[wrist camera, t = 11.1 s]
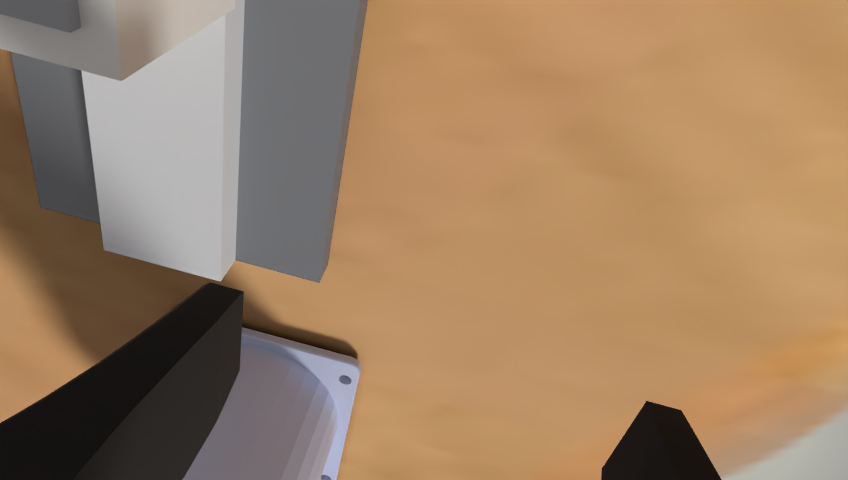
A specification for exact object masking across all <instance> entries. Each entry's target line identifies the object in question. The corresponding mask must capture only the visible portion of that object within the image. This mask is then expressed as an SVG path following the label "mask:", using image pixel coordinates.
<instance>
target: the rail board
mask: <svg viewBox="0 0 848 480" xmlns="http://www.w3.org/2000/svg"><path fill="white" fill-rule="evenodd" d="M367 1H368V0H235V9H233V10H232V11H230V12H228V13H227V14H225V15H224V16H222V17H221V18H219V19H218V20H216V21H214V22H213V23H211V24H210V25H208V26H207V27H205V28H204V29H202V30H200V31H199V32H197V33H196V34H194V35H193V36H191V37H190V38H188V39H186V40H185V41H183V42H182V43H180V44H179V45H177V46H175V47H174V48H172V49H171V50H169V51H168V52H166V53H165V54H163V55H161V56H160V57H158V58H157V59H155V60H154V61H152V62H151V63H149V64H147V65H146V66H144V67H143V68H141V69H140V70H138V71H137V72H135V73H133V74H132V75H130V76H129V77H127V78H126V79H124V80H123V81H119V80H115V79H111V78H107V77H104V76H100V75H96V74H93V73H89V72H85V71H81V70H78V69H74V68H70V67H66V66H63V65H59V64H55V63H52V62H48V61H44V60H40V59H37V58H33V57H29V56H26V55H22V54H18V53H14V52H11V56H12V62H13V67H14V72H15V77H16V82H17V88H18V93H19V98H20V103H21V108H22V114H23V119H24V124H25V129H26V134H27V140H28V145H29V150H30V155H31V160H32V165H33V171H34V176H35V181H36V186H37V191H38V197H39V202H40V207H41V208H45V209H48V210H52V211H56V212H59V213H63V214H67V215H70V216H74V217H78V218H82V219H85V220H89V221H93V222H96V223H100V224H101V231H102V239H103V247H104V250H106V251H109V252H113V253H117V254H120V255H124V256H128V257H131V258H135V259H139V260H143V261H146V262H150V263H154V264H157V265H161V266H165V267H168V268H172V269H176V270H179V271H183V272H187V273H191V274H194V275H198V276H202V277H205V278H209V279H213V280H216V281H220V282H221V280H222V279H223V277H224V276H225V274H226V273H227V272H228V270H229V269H230V267H231V266H232V264H233V263H234V261H235V260H237V261H240V262H244V263H248V264H252V265H255V266H259V267H263V268H266V269H270V270H274V271H277V272H281V273H285V274H288V275H292V276H296V277H300V278H303V279H307V280H311V281H314V282H318V283H319V282H320V280H321V278H322V276H323V274H324V272H325V270H326V267H327V265H328V259H329V252H330V245H331V239H332V232H333V225H334V219H335V212H336V206H337V199H338V192H339V186H340V179H341V173H342V166H343V159H344V153H345V146H346V139H347V133H348V126H349V120H350V113H351V106H352V100H353V93H354V87H355V80H356V73H357V67H358V60H359V53H360V47H361V40H362V34H363V27H364V20H365V14H366V7H367Z"/></svg>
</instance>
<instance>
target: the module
mask: <svg viewBox="0 0 848 480" xmlns="http://www.w3.org/2000/svg"><path fill="white" fill-rule="evenodd" d="M233 9H235V0H0V49H3V50H7V51H11V52H14V53H18V54H22V55H26V56H29V57H33V58H37V59H40V60H44V61H48V62H52V63H55V64H59V65H63V66H66V67H70V68H74V69H78V70H81V71H85V72H89V73H93V74H96V75H100V76H104V77H107V78H111V79H115V80H119V81H123V80H124V79H126V78H127V77H129V76H130V75H132V74H133V73H135V72H137V71H138V70H140V69H141V68H143V67H144V66H146V65H147V64H149V63H151V62H152V61H154V60H155V59H157V58H158V57H160V56H161V55H163V54H165V53H166V52H168V51H169V50H171V49H172V48H174V47H175V46H177V45H179V44H180V43H182V42H183V41H185V40H186V39H188V38H190V37H191V36H193V35H194V34H196V33H197V32H199V31H200V30H202V29H204V28H205V27H207V26H208V25H210V24H211V23H213V22H214V21H216V20H218V19H219V18H221V17H222V16H224V15H225V14H227V13H228V12H230V11H232V10H233Z"/></svg>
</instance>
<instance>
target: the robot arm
mask: <svg viewBox="0 0 848 480" xmlns="http://www.w3.org/2000/svg"><path fill="white" fill-rule="evenodd" d="M243 293H244V292H243V291H239V290H236V289H232V288H228V287H225V286H221V285H217V284H213V283H208V284H206V285H204V286H203V287H201V288H200V289H199V290H197V291H196V292H195V293H193V294H192V295H191V296H190V297H188V298H187V299H186V300H184V301H183V302H182V303H180V304H179V305H178V306H177V307H175V308H174V309H173V310H170V311H169V312H168V313H167V314H166V315H165V316H163V317H162V318H161V319H159V320H158V321H157V322H155V323H154V324H153V325H151V326H150V327H148V328H147V329H146V330H144V331H143V332H142V333H140V334H139V335H137V336H136V337H135V338H133V339H132V340H130V341H129V342H127V343H126V344H125V345H123V346H122V347H120V348H119V349H117V350H116V351H115V352H113V353H112V354H110V355H109V356H108V357H106V358H105V359H103V360H102V361H100V362H99V363H97V364H96V365H94V366H93V367H91V368H90V369H88V370H87V371H85V372H83V373H82V374H80V375H79V376H77V377H76V378H74V379H72V380H71V381H69V382H68V383H66V384H65V385H63V386H61V387H60V388H58V389H57V390H55V391H54V392H52V393H50V394H49V395H47V396H46V397H44V398H42V399H41V400H39V401H37V402H36V403H34V404H32V405H31V406H29V407H27V408H26V409H24V410H22V411H21V412H19V413H17V414H15V415H14V416H12V417H10V418H8V419H7V420H5V421H3V422H1V423H0V480H337V475H338V471H339V466H340V462H341V457H342V453H343V448H344V444H345V439H346V435H347V430H348V426H349V421H350V417H351V412H352V408H353V403H354V399H355V394H356V390H357V385H358V381H359V376H360V372H361V364H360V362H359V361H358V360H356V359H355V358H353V357H350V356H347V355H343V354H339V353H336V352H332V351H328V350H325V349H321V348H317V347H314V346H310V345H306V344H303V343H299V342H295V341H292V340H288V339H284V338H280V337H277V336H273V335H269V334H266V333H262V332H258V331H255V330H251V329H247V328H244V327H242V314H243ZM344 375H346V376H348V377H346V376H344ZM601 480H721V478H720V476H719V475H718V473H717V471H716V469H715V468H714V466H713V464H712V463H711V461H710V459H709V457H708V456H707V454H706V452H705V450H704V449H703V447H702V445H701V443H700V442H699V440H698V438H697V436H696V435H695V433H694V431H693V429H692V428H691V426H690V424H689V423H688V421H687V419H686V418H685V416H684V414H683V413H682V411H681V410H678V409H674V408H671V407H667V406H663V405H660V404H656V403H652V402H649V401H646V403H645V404H644V406H643V407H642V409H641V410H640V412H639V413H638V415H637V416H636V418H635V419H634V421H633V423H632V424H631V426H630V427H629V429H628V430H627V432H626V433H625V435H624V436H623V438H622V439H621V441H620V442H619V444H618V445H617V447H616V448H615V450H614V451H613V453H612V454H611V456H610V457H609V459H608V460H607V462H606V463H605V465H604V466H603V468H602V479H601Z"/></svg>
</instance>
